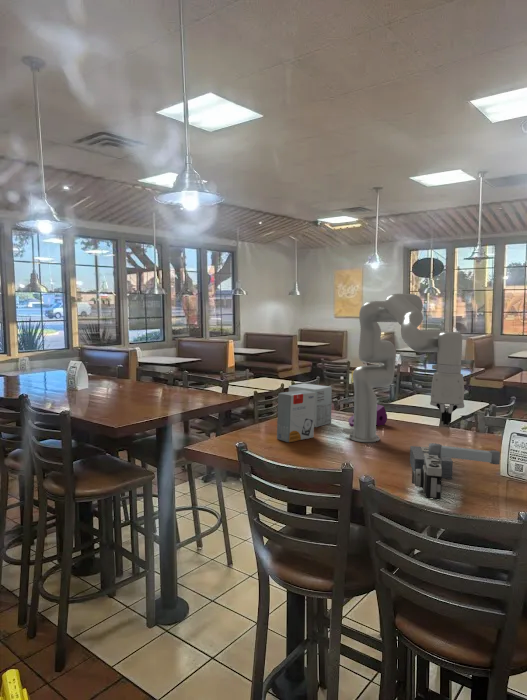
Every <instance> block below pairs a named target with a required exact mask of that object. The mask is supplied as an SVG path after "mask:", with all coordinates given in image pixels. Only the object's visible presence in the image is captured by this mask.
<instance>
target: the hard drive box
mask: <svg viewBox="0 0 527 700" xmlns="http://www.w3.org/2000/svg"><path fill="white" fill-rule="evenodd" d="M277 395H278V396H277V421H276V423H277V424H276V426H277V427H276V440H279V441H283V442H286V443H292V442H293V443H294V442H297V441H301V440H305V439H306V440H308V439H310V438H311V439H312V438H315V437H314V432H315V431H314V430H315V427H314V412H315V392H311V391H306V390H300V391H292V392H289V391H285V392H284V391H283V392H278V393H277Z"/></svg>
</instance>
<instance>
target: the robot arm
mask: <svg viewBox="0 0 527 700" xmlns="http://www.w3.org/2000/svg"><path fill="white" fill-rule="evenodd" d="M423 307H424V304H423V300H422V298H421V297H420V296H419V295H417V294H415V293H393V294H390V295H388V296H387V297H386V298H385V300H374V301H373V300H371V301H367V302H365V303H363V304H362V305H361V307H360V310H359V314H358V315H359V316H358V317H359V326H360V327H359V328H360V333H359V343H358V359H359V361H360V362H362V363H364V364H365V363H366V364H377V363H378V365H361V366H357V367H355V369H354V370H353V372H352V383H353V394H354V398H353V400H354V401H353V402H354V403H353V407H354V408H353V415H354V426H353V427H350V428H345V427H344V428H342V433H344V434H346V435H348V434H349V439H350V440H351V441H355V442H359V443H376V441H377V442H378V441H380V436H379V435H377V426H376V418H377V405H378V398H377V395H376V393H375V391H374V389H375V388H376V389H377V388H387V387H389V386H391V385H392V383H393V382H394V378H395V377H394V376H395V367H396V357H397V350H396V346H395V344H394V343H393V342H391V341H390V340H385V339H384V340H383V339H381V336H382V329H381V326H380V325H379V323H398V325H400V335H401V339H402V340H403V342H404V343H405V344H406V345H407V346H408V347H409V348H410V349H411V350H413V351H415V352H416V353H437V355H436V357H437V358H436V363H435V364H432V366H431V369H433V370H435V371H436V372H434V373H433V376H432V380H431V387H430V388H431V389H430V402H429V404H430V406H432V407H436V408H437V409H438V410H439V411H440V413H441V416H440V417H441V418H440V419H441V422H442V424H443V426H445V425H446V426H449V424H450V423H451V422H452V413H453V412H454V411H455V410H457V409H464V408H465V402H464V400H465V399H464V398H465V382H464V381H465V380H464V374H463V373H462V356H463V354H462V352H463V334H462V333H460V332H456V331H448V330H439V329H438V330H436V329H435V330H434V329H433V330H432V329H431V330H429V329H428V330H427V329H426V330H425V329H421V330H420V329H419V326H420V325H421V324H422V322H423V319H424V314H423V312H422V311H423ZM446 405H449V406H448V409H446Z"/></svg>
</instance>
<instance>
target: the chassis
mask: <svg viewBox="0 0 527 700" xmlns="http://www.w3.org/2000/svg"><path fill="white" fill-rule="evenodd" d="M428 454H429V446H417V445H415V446H414V445H410V446H409V464H411V465H410V467H412V468H411V470H413V471H415V470H416V469H423V465H424V460H425V455H428ZM438 458H439V459H440V461H441V463H440V464H441V468H442V478H448V479H447V480H453V463H454V462H453V460H452V459H453V458H449V457H438ZM413 471H412V472H413Z"/></svg>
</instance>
